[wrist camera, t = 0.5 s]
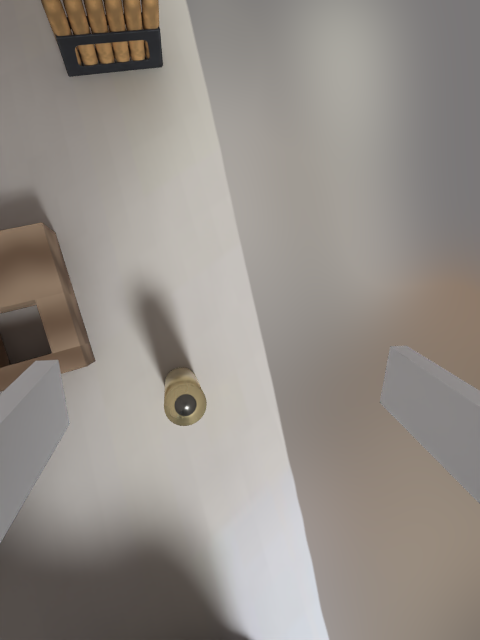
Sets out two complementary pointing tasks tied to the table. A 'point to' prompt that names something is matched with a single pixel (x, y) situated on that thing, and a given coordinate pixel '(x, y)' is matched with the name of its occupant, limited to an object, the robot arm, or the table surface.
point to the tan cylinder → (183, 397)
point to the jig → (41, 298)
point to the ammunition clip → (106, 35)
